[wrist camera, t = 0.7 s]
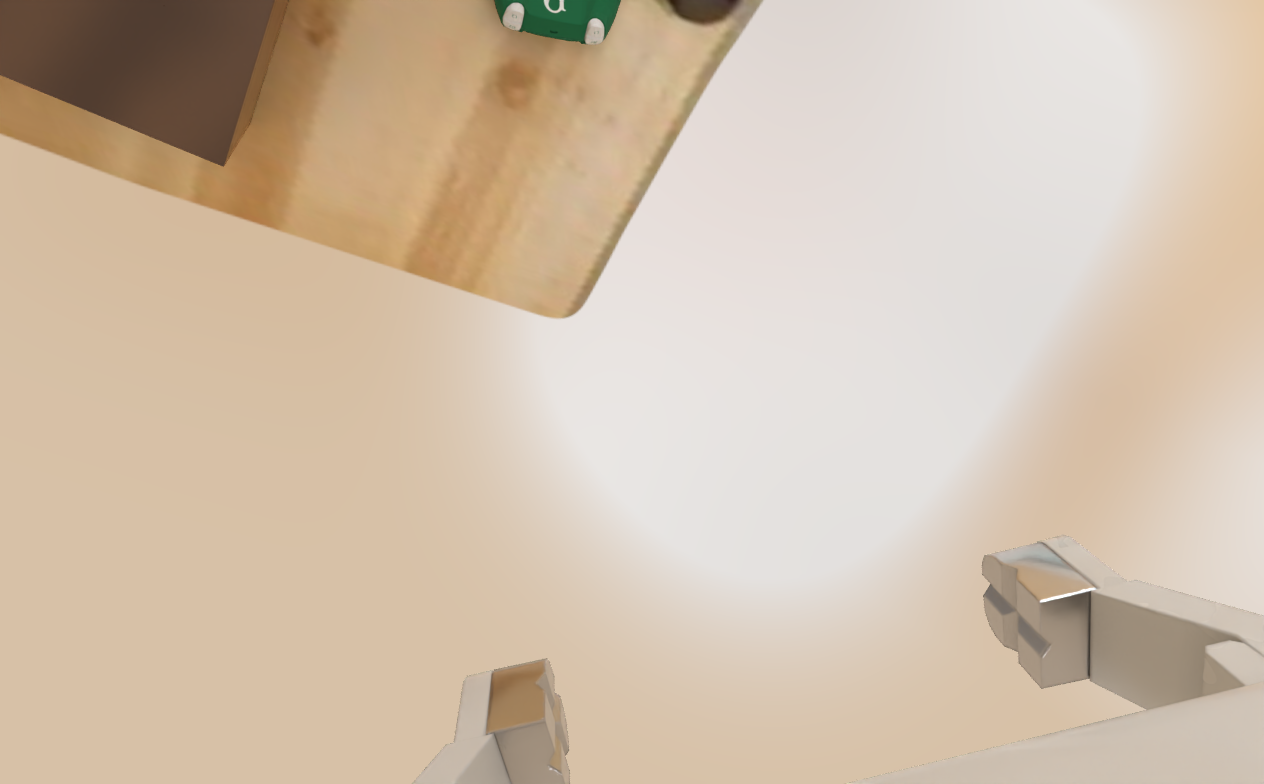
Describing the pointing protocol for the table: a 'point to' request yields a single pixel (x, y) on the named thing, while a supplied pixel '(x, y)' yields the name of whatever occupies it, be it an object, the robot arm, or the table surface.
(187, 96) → the cabinet
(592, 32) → the gaming controller
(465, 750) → the robot arm
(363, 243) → the table surface
